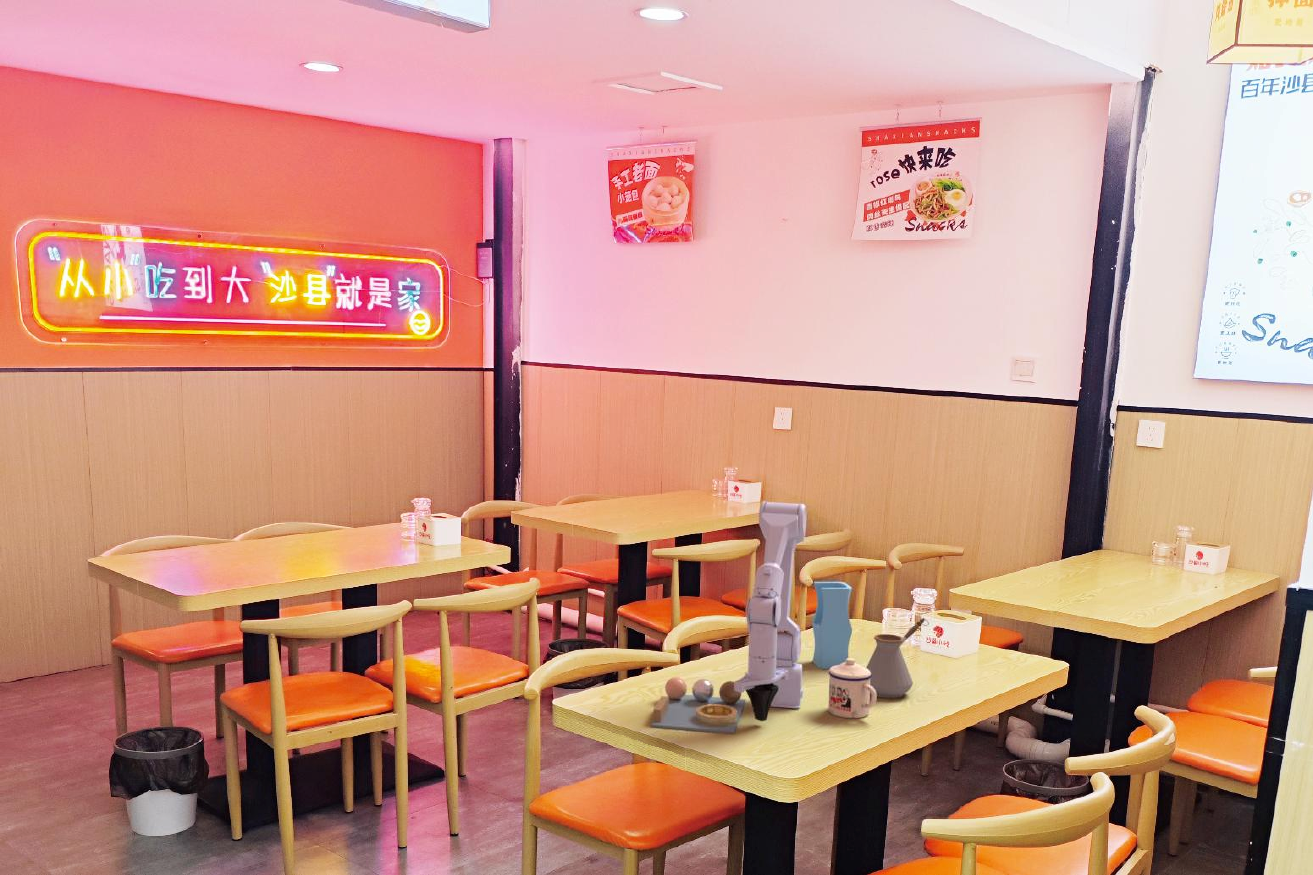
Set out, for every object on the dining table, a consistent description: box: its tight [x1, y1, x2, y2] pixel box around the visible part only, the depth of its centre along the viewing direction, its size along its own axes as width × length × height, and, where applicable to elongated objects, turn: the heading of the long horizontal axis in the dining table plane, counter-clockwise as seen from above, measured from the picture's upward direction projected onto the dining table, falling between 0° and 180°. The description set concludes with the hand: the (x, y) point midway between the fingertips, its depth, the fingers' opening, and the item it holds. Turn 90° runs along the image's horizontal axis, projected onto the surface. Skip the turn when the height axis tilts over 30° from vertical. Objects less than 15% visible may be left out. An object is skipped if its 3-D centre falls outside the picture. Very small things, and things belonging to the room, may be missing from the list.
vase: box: [811, 581, 853, 670], centre depth 266 cm, size 8×8×20 cm
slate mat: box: [650, 694, 746, 735], centre depth 228 cm, size 17×21×3 cm
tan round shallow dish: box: [696, 704, 737, 726], centre depth 223 cm, size 8×8×2 cm
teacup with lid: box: [828, 657, 878, 719], centre depth 229 cm, size 12×9×12 cm
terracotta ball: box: [664, 676, 688, 700], centre depth 236 cm, size 5×5×5 cm
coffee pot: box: [865, 617, 930, 699], centre depth 248 cm, size 21×12×15 cm, turn 135°
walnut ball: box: [718, 680, 742, 704], centre depth 234 cm, size 5×5×5 cm
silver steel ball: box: [691, 678, 715, 702], centre depth 235 cm, size 5×5×5 cm
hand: (760, 719), depth 221 cm, fingers closed
